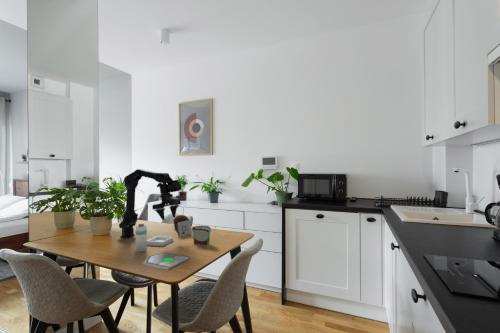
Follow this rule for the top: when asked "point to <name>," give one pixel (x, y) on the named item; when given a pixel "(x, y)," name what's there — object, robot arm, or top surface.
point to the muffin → (179, 220)
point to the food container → (201, 235)
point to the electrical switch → (184, 228)
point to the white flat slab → (165, 260)
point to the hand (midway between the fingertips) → (169, 218)
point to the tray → (159, 241)
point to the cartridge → (141, 237)
